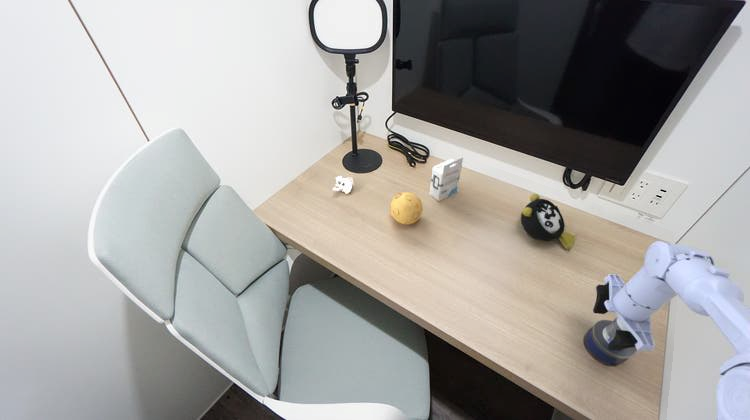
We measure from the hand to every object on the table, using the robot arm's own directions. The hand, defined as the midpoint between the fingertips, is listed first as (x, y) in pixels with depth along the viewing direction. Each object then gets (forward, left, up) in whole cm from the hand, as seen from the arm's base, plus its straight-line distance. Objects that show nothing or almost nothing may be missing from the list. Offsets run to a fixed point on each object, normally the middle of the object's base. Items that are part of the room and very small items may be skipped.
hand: (605, 329), depth 64 cm
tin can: (-1, -3, -8) cm, 9 cm away
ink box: (+58, +5, -8) cm, 58 cm away
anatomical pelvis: (+73, +36, -8) cm, 81 cm away
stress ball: (+51, +22, -8) cm, 56 cm away
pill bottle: (-1, -3, -3) cm, 5 cm away
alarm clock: (+31, -13, -8) cm, 34 cm away
